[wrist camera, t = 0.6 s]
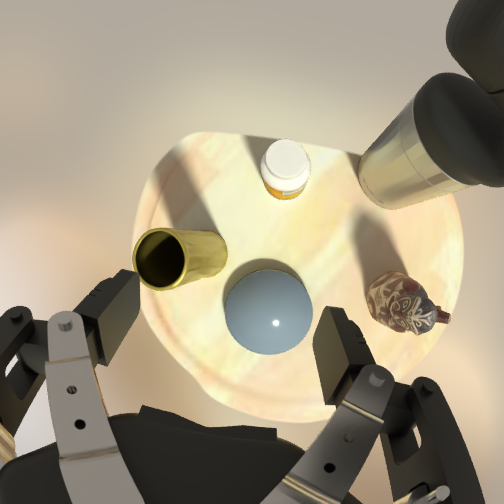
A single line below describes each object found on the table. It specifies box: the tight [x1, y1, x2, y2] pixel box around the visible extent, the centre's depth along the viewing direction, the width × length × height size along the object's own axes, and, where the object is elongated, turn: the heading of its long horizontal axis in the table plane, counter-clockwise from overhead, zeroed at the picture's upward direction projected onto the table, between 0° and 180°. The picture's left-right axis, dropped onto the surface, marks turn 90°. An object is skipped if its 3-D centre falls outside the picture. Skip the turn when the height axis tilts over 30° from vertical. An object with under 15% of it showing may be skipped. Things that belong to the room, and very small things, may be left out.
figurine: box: [366, 272, 451, 335], centre depth 27 cm, size 7×7×12 cm
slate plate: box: [225, 269, 313, 355], centre depth 34 cm, size 11×11×2 cm
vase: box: [132, 228, 228, 291], centre depth 29 cm, size 6×6×14 cm
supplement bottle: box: [260, 139, 311, 200], centre depth 29 cm, size 5×5×10 cm
